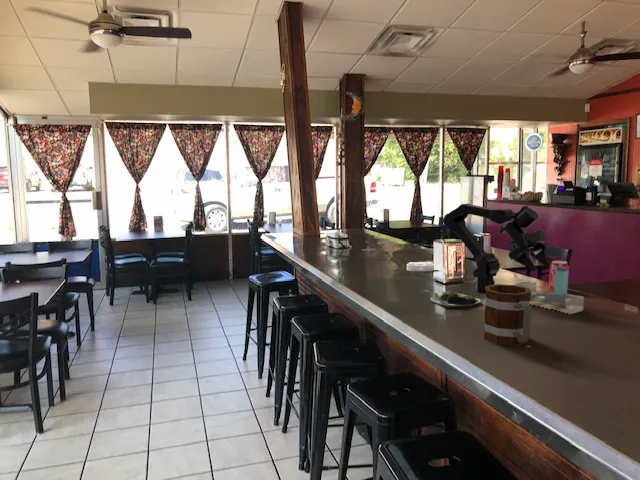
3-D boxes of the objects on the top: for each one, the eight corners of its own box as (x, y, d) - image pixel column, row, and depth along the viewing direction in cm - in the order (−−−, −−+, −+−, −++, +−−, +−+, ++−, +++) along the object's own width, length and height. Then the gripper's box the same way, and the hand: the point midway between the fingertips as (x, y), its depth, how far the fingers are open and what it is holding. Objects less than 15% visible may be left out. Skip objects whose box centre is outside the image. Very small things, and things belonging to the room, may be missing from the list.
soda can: (569, 292, 203) (571, 263, 201) (551, 291, 204) (552, 263, 202) (565, 288, 210) (566, 260, 208) (547, 288, 211) (548, 260, 209)
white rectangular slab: (435, 266, 264) (445, 272, 249) (402, 267, 262) (410, 273, 248) (435, 260, 263) (445, 265, 249) (402, 261, 262) (410, 266, 247)
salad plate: (417, 300, 196) (417, 288, 195) (452, 294, 203) (453, 283, 203) (450, 312, 178) (450, 299, 178) (487, 305, 186) (488, 293, 185)
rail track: (514, 301, 191) (514, 282, 190) (526, 297, 195) (527, 279, 194) (571, 314, 172) (572, 293, 171) (583, 310, 176) (584, 290, 175)
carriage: (544, 299, 181) (546, 266, 179) (554, 296, 184) (556, 264, 183) (565, 303, 174) (567, 270, 173) (576, 301, 178) (577, 268, 176)
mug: (474, 331, 155) (476, 284, 153) (516, 330, 156) (518, 283, 154) (503, 354, 136) (505, 301, 134) (550, 352, 137) (553, 299, 135)
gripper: (518, 224, 181) (544, 259, 174) (546, 220, 192) (572, 253, 185) (497, 242, 189) (522, 276, 182) (526, 238, 200) (550, 270, 193)
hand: (542, 268), depth 185 cm, fingers open, 9 cm apart
